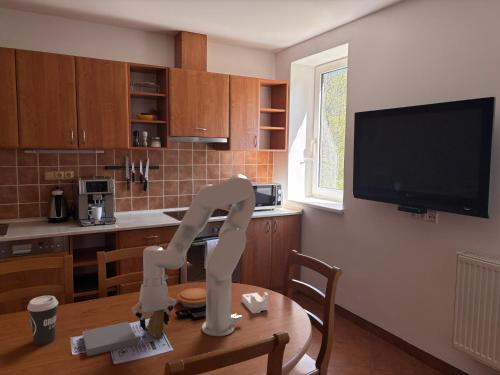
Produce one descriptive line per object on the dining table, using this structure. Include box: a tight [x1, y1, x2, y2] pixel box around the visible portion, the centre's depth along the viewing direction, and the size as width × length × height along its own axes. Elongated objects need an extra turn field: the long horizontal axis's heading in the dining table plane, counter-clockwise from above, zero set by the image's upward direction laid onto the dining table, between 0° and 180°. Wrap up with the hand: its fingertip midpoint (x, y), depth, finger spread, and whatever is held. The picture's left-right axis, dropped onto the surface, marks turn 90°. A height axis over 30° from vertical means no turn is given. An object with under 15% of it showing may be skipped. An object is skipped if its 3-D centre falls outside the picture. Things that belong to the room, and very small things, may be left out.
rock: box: [146, 309, 165, 339], centre depth 140 cm, size 11×9×10 cm
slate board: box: [82, 321, 138, 357], centre depth 133 cm, size 16×14×2 cm
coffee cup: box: [27, 295, 59, 346], centre depth 132 cm, size 10×10×15 cm
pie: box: [176, 287, 206, 309], centre depth 167 cm, size 15×16×5 cm
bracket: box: [241, 291, 269, 314], centre depth 164 cm, size 13×7×8 cm, turn 21°
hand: (154, 325), depth 140 cm, fingers open, 7 cm apart
